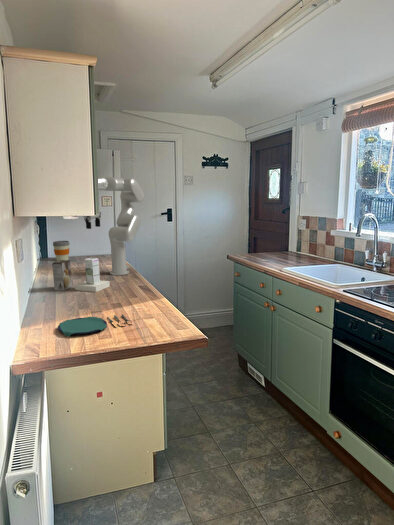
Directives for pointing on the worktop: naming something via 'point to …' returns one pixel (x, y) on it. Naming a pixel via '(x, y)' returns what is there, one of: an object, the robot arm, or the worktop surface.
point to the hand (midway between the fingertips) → (93, 227)
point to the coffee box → (62, 275)
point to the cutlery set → (84, 325)
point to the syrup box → (92, 270)
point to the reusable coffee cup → (61, 250)
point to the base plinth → (92, 286)
